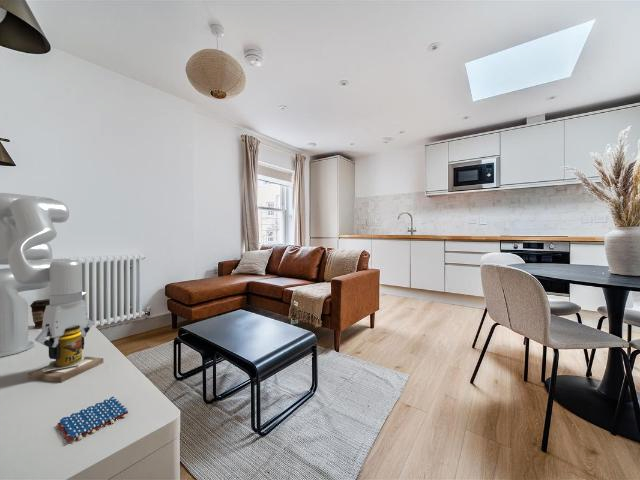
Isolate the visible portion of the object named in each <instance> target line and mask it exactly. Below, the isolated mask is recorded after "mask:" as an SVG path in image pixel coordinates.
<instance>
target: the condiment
mask: <svg viewBox="0 0 640 480" xmlns="http://www.w3.org/2000/svg"><path fill="white" fill-rule="evenodd" d="M81 337H82V334H81V332H80V325H77V326H75V327H71V328H68V329H65V332H64V335H63V336H61V337H60V340H59V342H58V345H57V346H60V358H59V359H55V360H52V361H50V362H49V364H47V365H46V366H47V367H46V369H45V370H44V371H43V372H45V371H50V370H55V369H60V368H66V367H71V366H76V365H80V364H81V363H82V361H83V359H84V357H85V356H86V355H83V353H82V351H83V349H82V338H81ZM86 357H87V356H86Z"/></svg>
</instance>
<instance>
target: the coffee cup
mask: <svg viewBox="0 0 640 480" xmlns="http://www.w3.org/2000/svg"><path fill="white" fill-rule="evenodd" d="M47 305H50V298H47V299H46V298H45V299H38V300H33V301H32V303H31V304H30V306H29V307H30V309H31V316H32V322H33V323H34V325H33V329H42V324H43V316H44V312H45V308H46V306H47Z"/></svg>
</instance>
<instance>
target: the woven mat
mask: <svg viewBox="0 0 640 480" xmlns="http://www.w3.org/2000/svg"><path fill="white" fill-rule="evenodd" d="M128 413H129V411H128V410H127V407H125V405H124V404H123V405H122V402H121V403H120V400H118V399H117V398H115V396H111V397H109V398H107V399H103V400H102V401H101V402H96V403H95V404H92V405H90V406H88V407H86V408H84V409H83V408H82V409H80V410H78V411H77V412H73V413H72V414H69V415H68V416H64V417H62V418H61V419H59V422H57V426H58V430H60V432H61V433H62V434H63V436H64V440H65V439H66V442H68V443H70V445H73V444H75V441H80V440H82V439H83V438H84V437H85V438H87V437H90V436H89V434H90V433H91V434H95V432H96V430H98V429H100V430H102V429H101V428H103V426H104V428H107V425H112V423H113V424H114V421H115V422H116V419H117V420H118V419H119V420H118V422H119V421H120V418H122V416H123V418H122V419H126V417H127V416H128V415H127V414H128ZM108 421H109V422H108ZM110 423H111V424H110Z"/></svg>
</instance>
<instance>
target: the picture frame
mask: <svg viewBox="0 0 640 480" xmlns="http://www.w3.org/2000/svg"><path fill="white" fill-rule="evenodd" d="M84 356H85V355H84ZM102 364H104V358H103V357H94V356H85V357H84V359H83V361H82V363H81V364H80V365H76V366H71V367H66V368H60V369H55V370H50V371H45V372H43V371H44V370H45V369H46V367H47V366H48V365H45V366H43V367H40V368H38V369H36V370H33V371H30V372H28V375H27V376H28V379H34V380H41V381H47V382H56V383H63V382H65V381H67V380H69V379H71V378H73V377H76V376H78V375H80V374H82V373H85V372H87V371H88V370H91V369H93V368H96V367H97V366H99V365H102Z"/></svg>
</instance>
